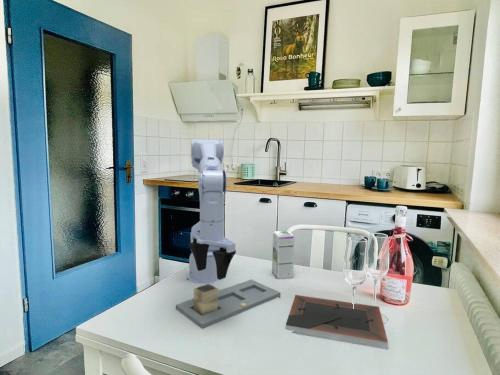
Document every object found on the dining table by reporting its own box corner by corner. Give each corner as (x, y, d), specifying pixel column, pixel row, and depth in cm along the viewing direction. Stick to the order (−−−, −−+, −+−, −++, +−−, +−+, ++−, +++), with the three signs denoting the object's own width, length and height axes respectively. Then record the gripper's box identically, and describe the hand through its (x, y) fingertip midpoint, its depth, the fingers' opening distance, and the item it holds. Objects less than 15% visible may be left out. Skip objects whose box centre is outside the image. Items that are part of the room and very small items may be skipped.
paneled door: (175, 311, 82) (175, 303, 82) (251, 284, 99) (251, 278, 99) (202, 331, 73) (202, 323, 73) (280, 298, 90) (280, 291, 90)
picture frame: (285, 334, 74) (387, 352, 68) (285, 324, 73) (388, 341, 68) (295, 302, 89) (378, 314, 84) (295, 293, 89) (378, 305, 84)
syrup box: (293, 278, 105) (295, 234, 103) (276, 279, 104) (277, 235, 102) (287, 271, 111) (289, 230, 109) (271, 272, 109) (272, 230, 108)
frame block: (193, 311, 81) (193, 287, 80) (208, 305, 84) (208, 283, 83) (202, 317, 78) (202, 293, 77) (217, 311, 81) (218, 288, 80)
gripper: (180, 217, 80) (180, 270, 82) (219, 227, 70) (218, 287, 72) (202, 213, 85) (202, 263, 87) (242, 222, 75) (241, 278, 77)
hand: (211, 273), depth 80 cm, fingers open, 7 cm apart
